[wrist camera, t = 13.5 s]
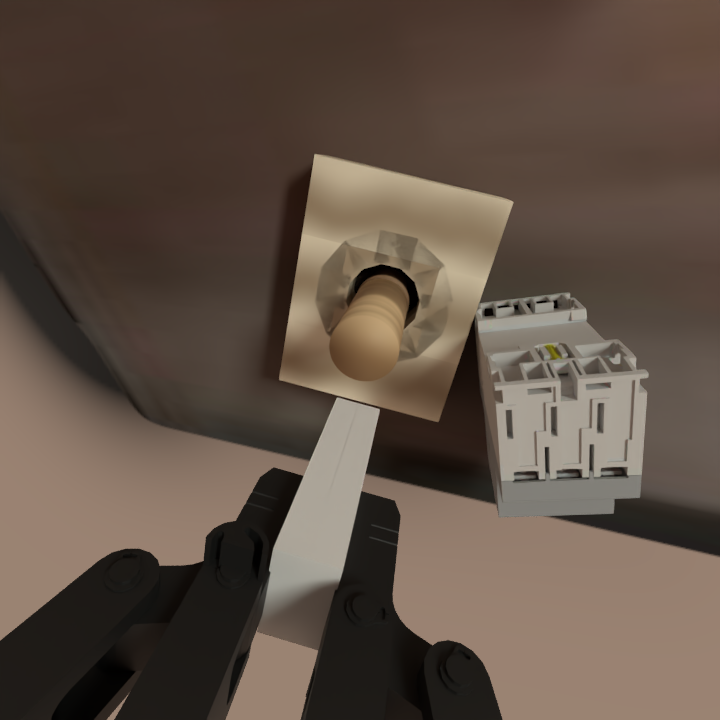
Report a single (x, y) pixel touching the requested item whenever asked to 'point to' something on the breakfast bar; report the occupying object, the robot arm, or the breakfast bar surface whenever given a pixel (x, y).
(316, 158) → the board
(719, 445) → the breakfast bar surface
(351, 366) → the peg
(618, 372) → the circuit breaker
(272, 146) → the breakfast bar surface
